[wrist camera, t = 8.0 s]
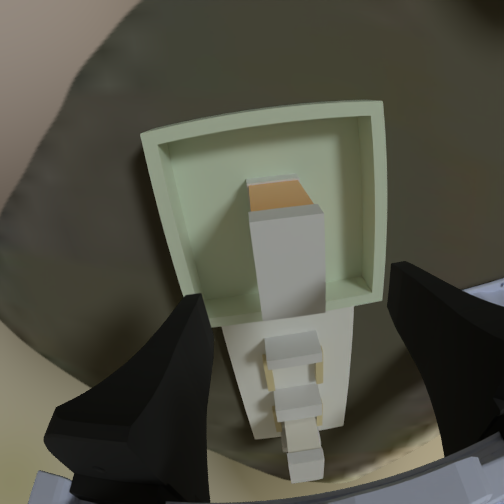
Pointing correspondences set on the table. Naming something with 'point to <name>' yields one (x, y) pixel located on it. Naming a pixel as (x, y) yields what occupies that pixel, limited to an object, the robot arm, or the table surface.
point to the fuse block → (292, 370)
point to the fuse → (304, 450)
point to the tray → (262, 165)
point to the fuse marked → (287, 247)
